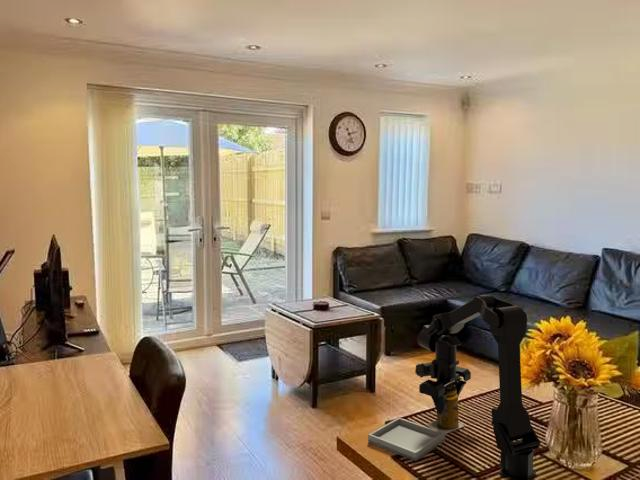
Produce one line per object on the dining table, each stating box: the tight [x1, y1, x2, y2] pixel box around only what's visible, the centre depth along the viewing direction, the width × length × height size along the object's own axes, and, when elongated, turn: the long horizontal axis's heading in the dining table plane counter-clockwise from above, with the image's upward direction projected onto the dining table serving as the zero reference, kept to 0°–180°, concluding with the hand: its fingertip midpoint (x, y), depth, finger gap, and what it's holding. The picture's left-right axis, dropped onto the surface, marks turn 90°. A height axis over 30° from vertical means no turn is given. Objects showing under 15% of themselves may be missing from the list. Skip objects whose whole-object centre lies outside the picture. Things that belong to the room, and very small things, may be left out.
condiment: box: [425, 383, 466, 435], centre depth 153 cm, size 7×8×12 cm
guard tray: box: [367, 417, 446, 462], centre depth 145 cm, size 15×14×2 cm
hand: (445, 409), depth 154 cm, fingers open, 6 cm apart
